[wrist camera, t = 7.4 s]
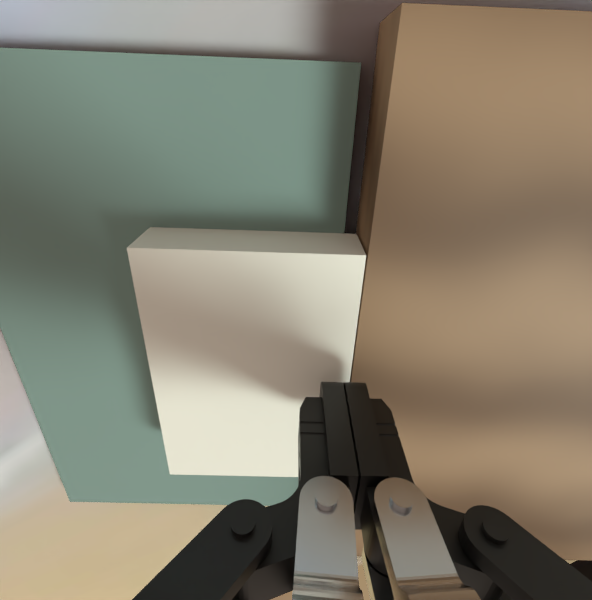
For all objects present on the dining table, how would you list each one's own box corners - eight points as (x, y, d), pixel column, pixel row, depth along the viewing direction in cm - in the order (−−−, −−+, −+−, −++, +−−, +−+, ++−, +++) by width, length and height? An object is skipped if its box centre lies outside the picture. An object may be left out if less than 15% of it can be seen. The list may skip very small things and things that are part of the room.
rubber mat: (-94, 45, 11) (-115, 42, 10) (357, 64, 11) (361, 62, 10) (75, 491, 20) (70, 501, 20) (316, 496, 20) (316, 506, 20)
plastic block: (149, 227, 13) (126, 247, 11) (356, 233, 13) (366, 255, 11) (182, 436, 17) (169, 474, 16) (332, 439, 17) (337, 478, 16)
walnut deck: (379, 22, 10) (402, 2, 8) (865, 44, 11) (1012, 30, 9) (324, 507, 21) (327, 555, 19) (571, 512, 21) (603, 560, 19)
